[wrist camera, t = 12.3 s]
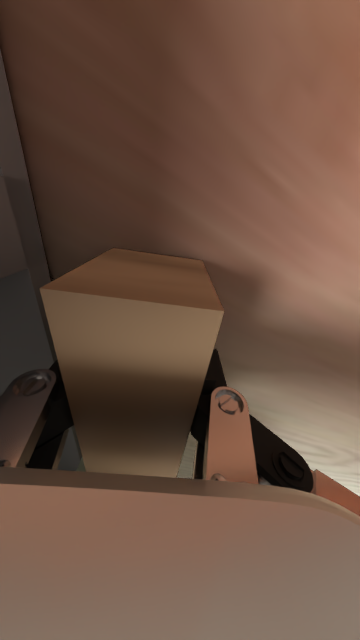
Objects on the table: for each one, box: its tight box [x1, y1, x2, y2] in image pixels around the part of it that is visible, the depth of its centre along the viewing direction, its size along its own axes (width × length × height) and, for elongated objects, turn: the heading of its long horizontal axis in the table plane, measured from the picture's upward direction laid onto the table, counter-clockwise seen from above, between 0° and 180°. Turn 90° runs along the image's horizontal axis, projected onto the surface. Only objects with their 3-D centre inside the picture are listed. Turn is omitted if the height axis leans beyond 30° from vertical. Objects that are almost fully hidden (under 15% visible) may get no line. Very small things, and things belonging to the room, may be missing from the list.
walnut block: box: [39, 248, 224, 478], centre depth 8 cm, size 9×4×5 cm, turn 172°
